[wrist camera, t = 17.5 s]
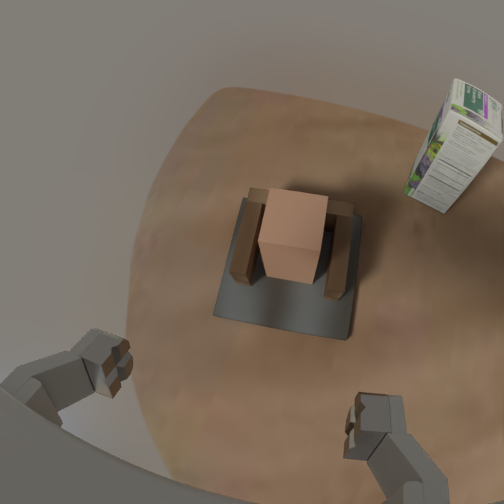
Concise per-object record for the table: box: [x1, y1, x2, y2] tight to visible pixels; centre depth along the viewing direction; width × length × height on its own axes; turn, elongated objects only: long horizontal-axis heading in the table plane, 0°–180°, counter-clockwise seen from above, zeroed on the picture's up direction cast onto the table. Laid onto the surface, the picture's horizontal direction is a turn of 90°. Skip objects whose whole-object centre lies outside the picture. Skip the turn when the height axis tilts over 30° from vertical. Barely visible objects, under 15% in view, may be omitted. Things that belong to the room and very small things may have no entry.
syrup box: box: [404, 78, 503, 214], centre depth 27 cm, size 6×6×14 cm
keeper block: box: [258, 188, 328, 284], centre depth 27 cm, size 4×4×9 cm
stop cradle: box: [213, 188, 362, 340], centre depth 30 cm, size 13×13×5 cm
